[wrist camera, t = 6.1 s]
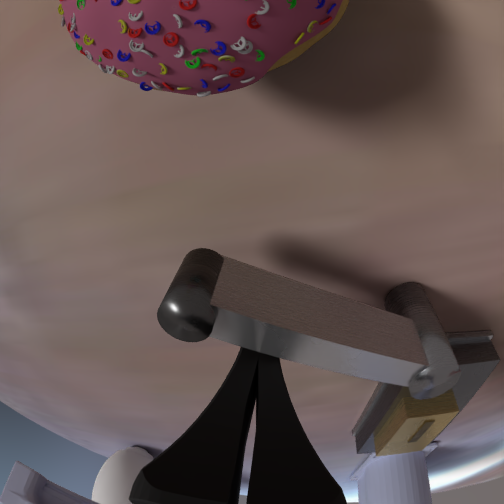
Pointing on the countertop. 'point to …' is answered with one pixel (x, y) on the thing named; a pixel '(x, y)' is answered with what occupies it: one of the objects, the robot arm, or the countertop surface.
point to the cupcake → (196, 39)
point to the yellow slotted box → (415, 424)
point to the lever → (311, 323)
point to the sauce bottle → (119, 475)
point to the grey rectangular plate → (472, 377)
